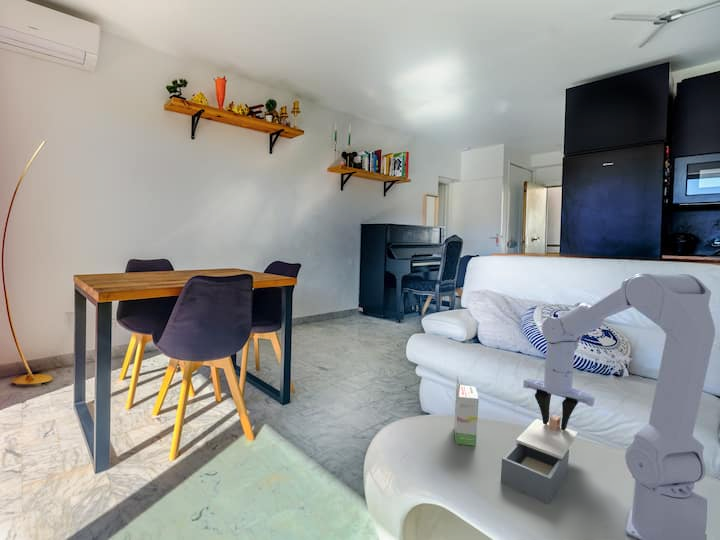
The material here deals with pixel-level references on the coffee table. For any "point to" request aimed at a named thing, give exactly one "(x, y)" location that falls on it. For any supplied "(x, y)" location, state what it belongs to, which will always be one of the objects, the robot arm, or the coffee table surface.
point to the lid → (548, 437)
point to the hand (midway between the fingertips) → (554, 425)
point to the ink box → (466, 414)
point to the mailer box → (533, 471)
